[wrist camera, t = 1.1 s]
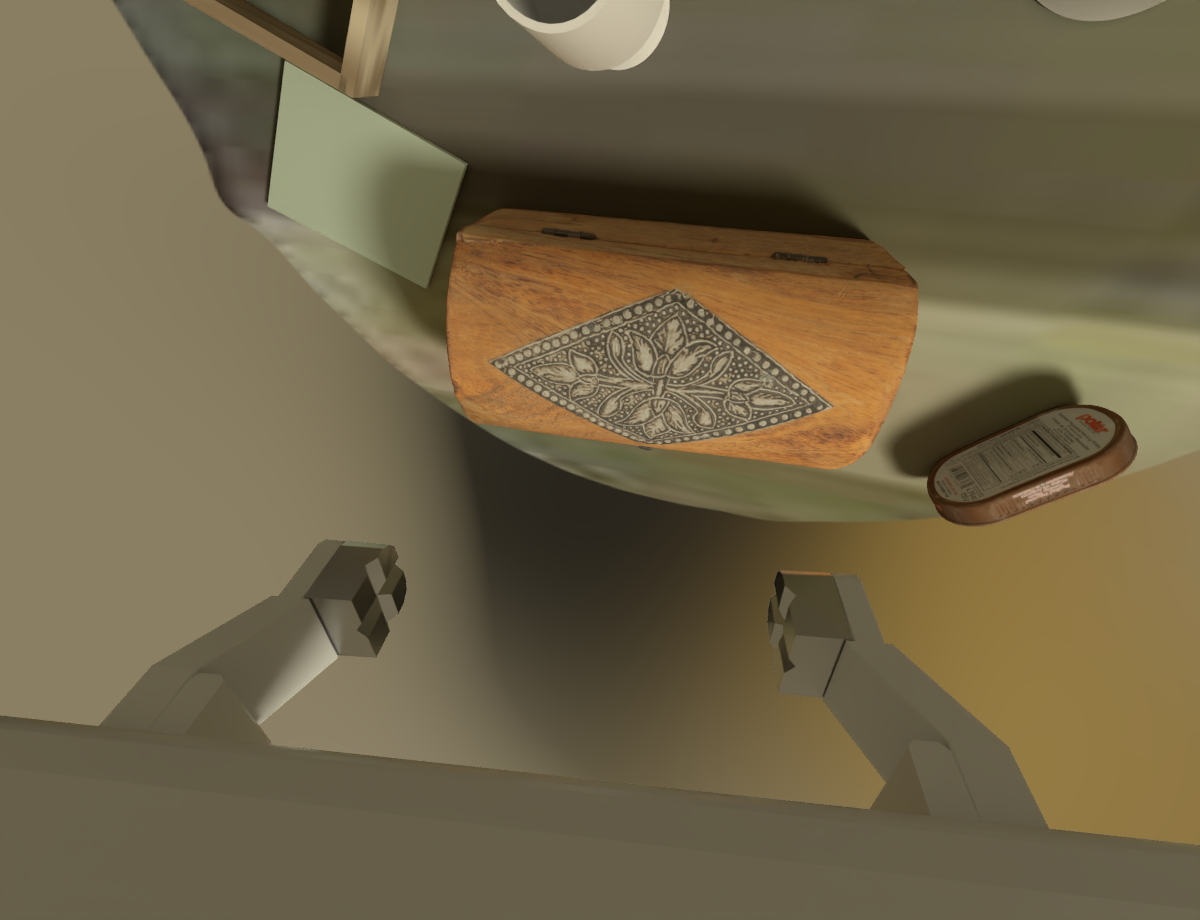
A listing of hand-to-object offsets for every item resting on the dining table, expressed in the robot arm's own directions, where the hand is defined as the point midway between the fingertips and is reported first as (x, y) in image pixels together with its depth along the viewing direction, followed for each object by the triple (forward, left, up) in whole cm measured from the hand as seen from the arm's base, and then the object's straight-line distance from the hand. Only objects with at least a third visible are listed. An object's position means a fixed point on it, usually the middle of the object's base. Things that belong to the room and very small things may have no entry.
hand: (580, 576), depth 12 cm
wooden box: (+7, +6, -39) cm, 40 cm away
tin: (+2, +39, -39) cm, 55 cm away
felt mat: (+9, -21, -38) cm, 45 cm away
